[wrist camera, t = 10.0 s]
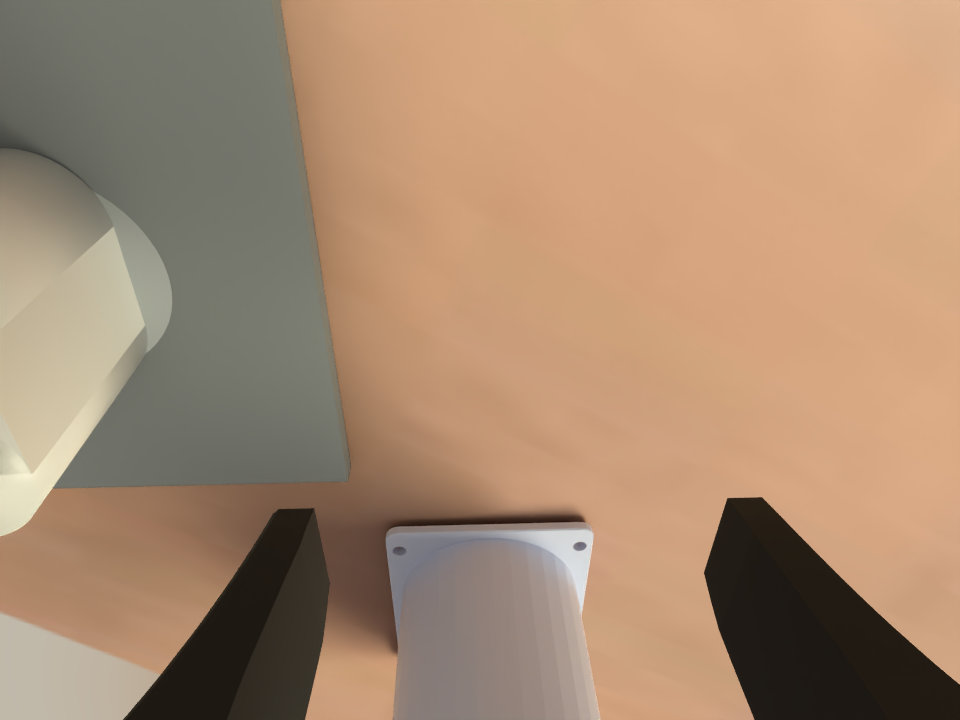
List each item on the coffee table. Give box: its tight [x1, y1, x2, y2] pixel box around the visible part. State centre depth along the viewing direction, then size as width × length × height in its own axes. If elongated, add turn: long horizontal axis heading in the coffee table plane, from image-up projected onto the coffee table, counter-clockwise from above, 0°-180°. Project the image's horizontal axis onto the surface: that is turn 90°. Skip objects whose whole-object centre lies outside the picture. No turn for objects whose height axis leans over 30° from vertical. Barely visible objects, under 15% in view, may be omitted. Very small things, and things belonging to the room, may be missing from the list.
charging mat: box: [0, 0, 351, 489], centre depth 18 cm, size 16×14×1 cm
